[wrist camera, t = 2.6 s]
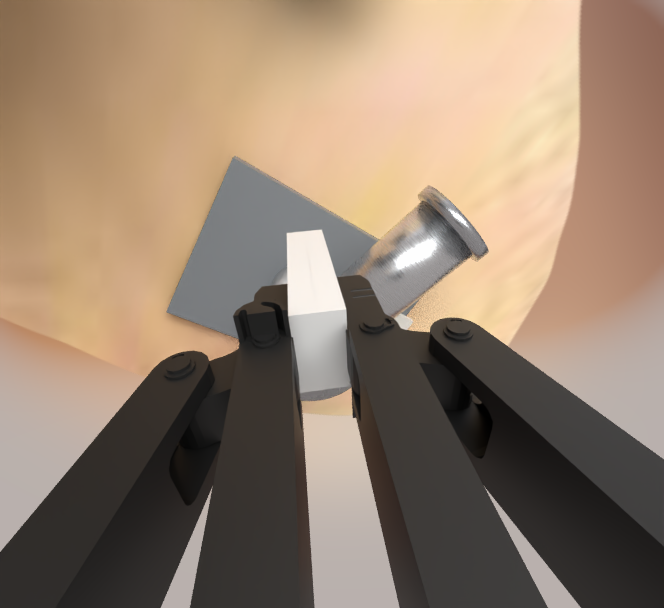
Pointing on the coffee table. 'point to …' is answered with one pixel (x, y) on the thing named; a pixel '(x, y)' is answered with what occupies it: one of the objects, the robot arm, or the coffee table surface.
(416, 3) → the coffee table surface
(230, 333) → the base
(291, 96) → the coffee table surface
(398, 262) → the elbow
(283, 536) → the robot arm
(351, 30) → the coffee table surface
